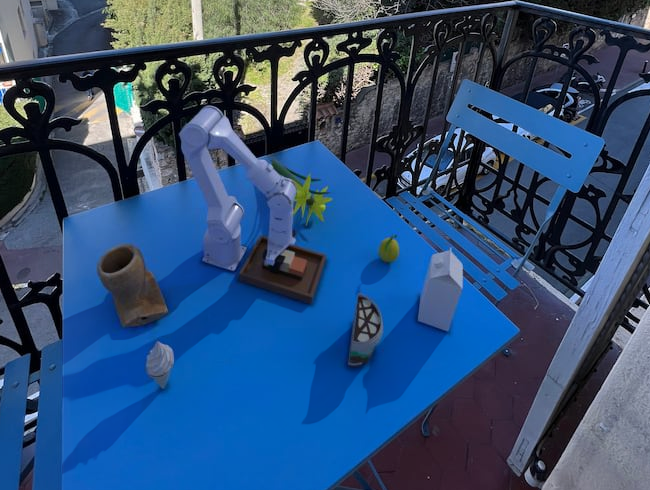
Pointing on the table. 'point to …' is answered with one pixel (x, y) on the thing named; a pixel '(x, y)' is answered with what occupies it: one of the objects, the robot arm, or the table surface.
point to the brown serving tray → (282, 283)
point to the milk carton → (441, 290)
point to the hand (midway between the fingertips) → (278, 262)
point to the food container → (364, 331)
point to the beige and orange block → (290, 265)
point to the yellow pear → (389, 249)
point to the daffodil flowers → (304, 192)
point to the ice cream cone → (160, 363)
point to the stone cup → (131, 286)
